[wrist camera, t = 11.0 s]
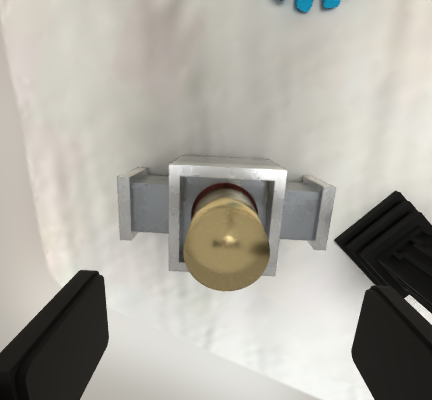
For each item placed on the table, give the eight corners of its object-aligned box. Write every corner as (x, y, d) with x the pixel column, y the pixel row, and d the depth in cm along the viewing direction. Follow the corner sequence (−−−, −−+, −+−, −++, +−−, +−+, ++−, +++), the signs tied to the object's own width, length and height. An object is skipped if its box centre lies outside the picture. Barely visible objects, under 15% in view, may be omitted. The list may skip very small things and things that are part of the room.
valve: (137, 152, 27) (104, 161, 19) (314, 161, 27) (352, 173, 19) (140, 231, 29) (110, 267, 21) (303, 239, 29) (333, 279, 21)
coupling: (195, 184, 21) (183, 209, 15) (257, 187, 21) (274, 213, 15) (193, 241, 23) (182, 288, 16) (252, 244, 23) (265, 293, 16)
